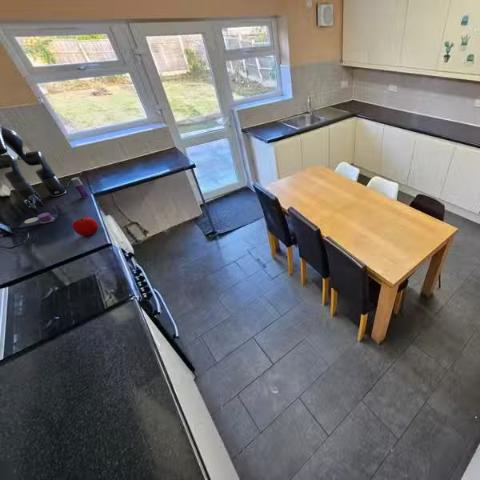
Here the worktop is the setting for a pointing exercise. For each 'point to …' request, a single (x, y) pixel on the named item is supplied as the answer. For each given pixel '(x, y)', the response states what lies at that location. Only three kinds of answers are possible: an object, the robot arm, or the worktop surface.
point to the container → (80, 187)
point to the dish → (45, 217)
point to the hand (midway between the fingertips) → (39, 210)
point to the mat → (36, 221)
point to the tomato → (85, 226)
